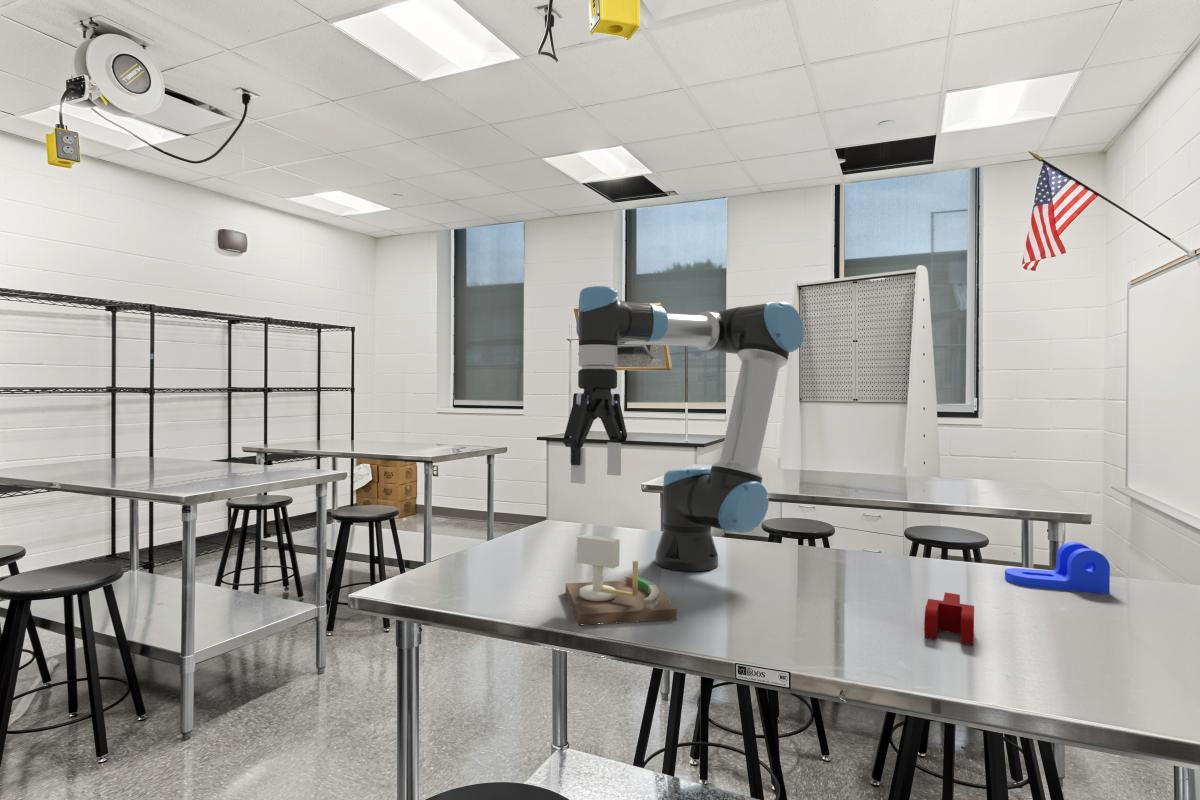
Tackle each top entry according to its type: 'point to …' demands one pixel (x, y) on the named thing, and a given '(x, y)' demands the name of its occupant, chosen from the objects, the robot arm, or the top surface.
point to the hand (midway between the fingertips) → (596, 479)
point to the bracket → (1068, 571)
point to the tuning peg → (602, 555)
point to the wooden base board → (622, 604)
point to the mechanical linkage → (949, 618)
